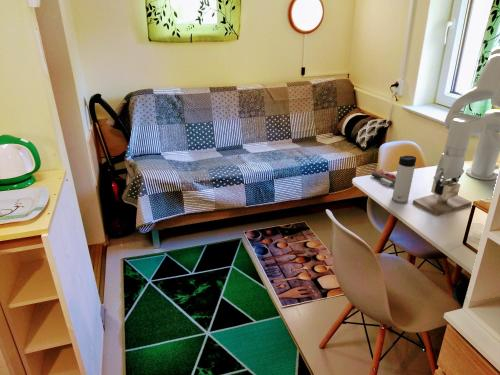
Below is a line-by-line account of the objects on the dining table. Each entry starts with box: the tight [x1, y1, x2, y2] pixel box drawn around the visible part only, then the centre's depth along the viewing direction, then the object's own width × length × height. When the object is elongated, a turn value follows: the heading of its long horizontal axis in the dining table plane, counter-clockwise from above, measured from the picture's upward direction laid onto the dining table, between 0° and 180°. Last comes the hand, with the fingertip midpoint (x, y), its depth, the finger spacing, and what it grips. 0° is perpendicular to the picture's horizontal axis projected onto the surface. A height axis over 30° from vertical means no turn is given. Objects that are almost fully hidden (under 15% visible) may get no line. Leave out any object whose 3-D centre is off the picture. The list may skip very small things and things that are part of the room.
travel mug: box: [391, 155, 417, 205], centre depth 156 cm, size 6×7×20 cm
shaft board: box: [412, 184, 473, 217], centre depth 156 cm, size 20×12×8 cm, turn 116°
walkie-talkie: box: [371, 169, 397, 188], centre depth 176 cm, size 9×4×20 cm
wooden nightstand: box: [430, 179, 461, 199], centre depth 154 cm, size 7×7×5 cm
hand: (444, 191), depth 155 cm, fingers closed on wooden nightstand, 7 cm apart
